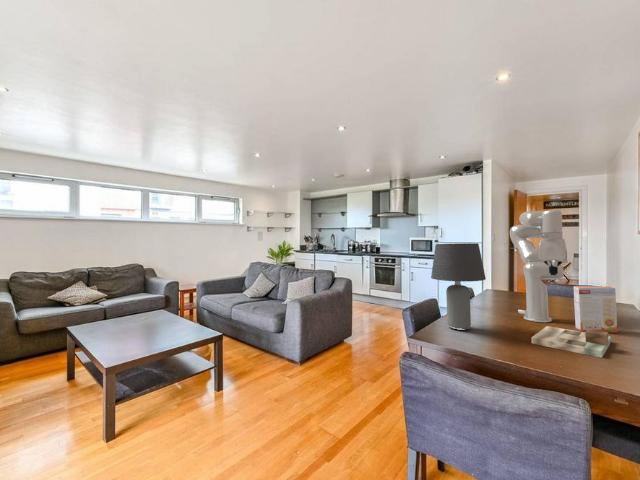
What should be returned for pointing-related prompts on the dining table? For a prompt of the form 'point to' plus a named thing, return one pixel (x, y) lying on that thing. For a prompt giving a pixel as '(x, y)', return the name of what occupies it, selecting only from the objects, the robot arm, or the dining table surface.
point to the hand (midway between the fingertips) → (553, 275)
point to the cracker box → (595, 308)
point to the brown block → (596, 337)
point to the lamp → (458, 278)
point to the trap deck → (568, 341)
